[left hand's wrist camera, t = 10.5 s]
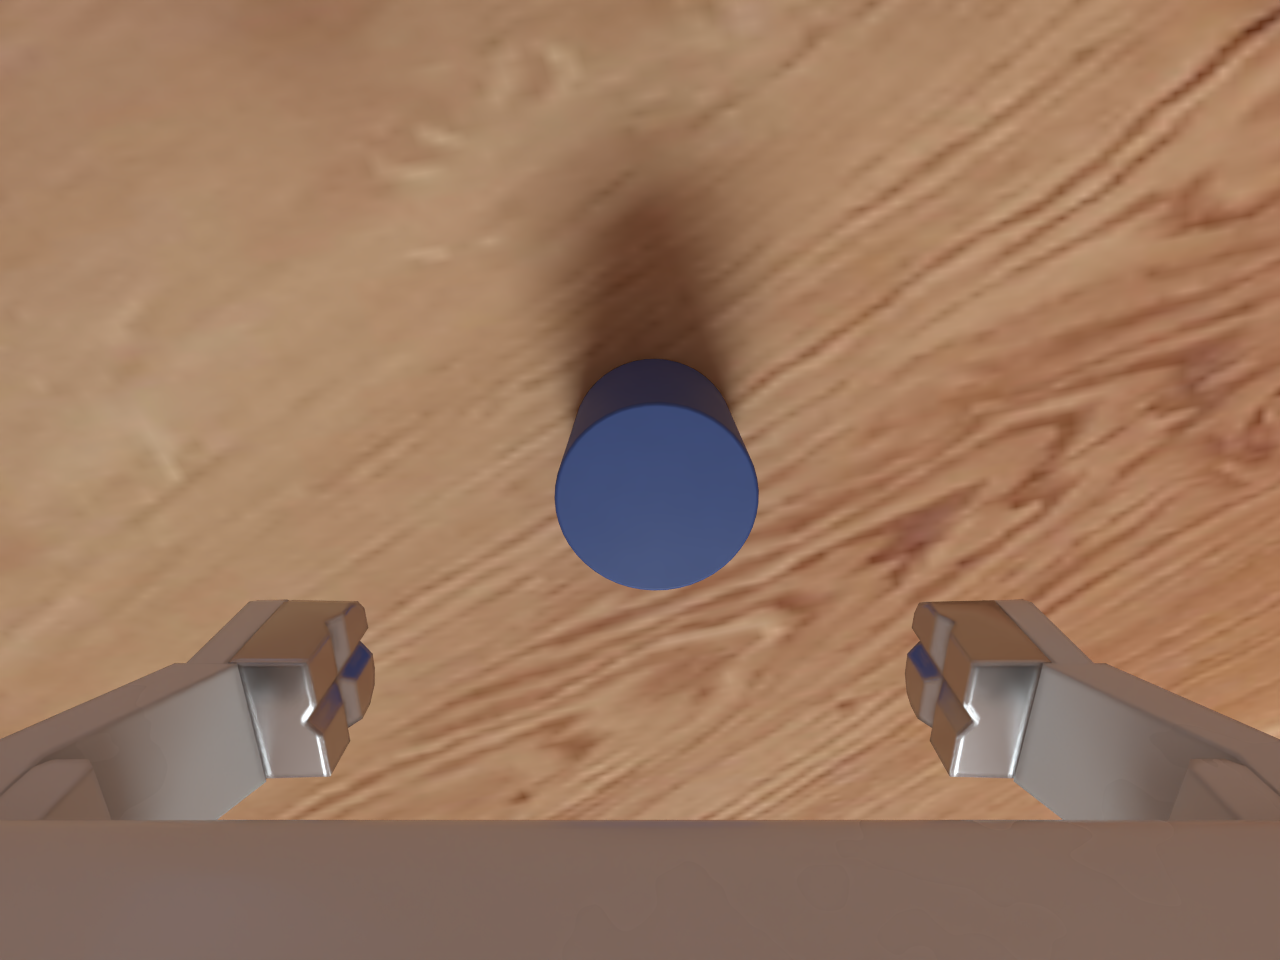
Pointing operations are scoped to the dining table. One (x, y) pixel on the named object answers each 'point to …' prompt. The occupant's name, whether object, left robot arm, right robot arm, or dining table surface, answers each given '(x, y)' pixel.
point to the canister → (655, 478)
